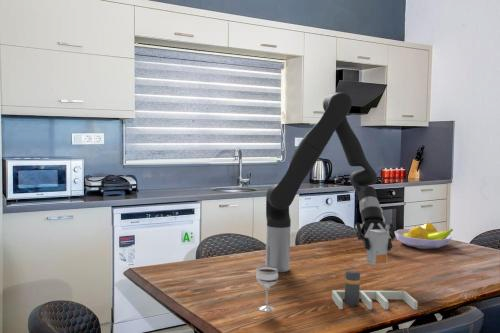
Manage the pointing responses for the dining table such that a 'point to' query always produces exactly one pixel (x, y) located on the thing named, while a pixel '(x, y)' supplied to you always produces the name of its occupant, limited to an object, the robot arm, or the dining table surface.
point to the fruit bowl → (424, 236)
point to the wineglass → (267, 282)
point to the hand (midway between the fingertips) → (379, 249)
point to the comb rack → (378, 295)
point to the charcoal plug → (352, 288)
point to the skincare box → (377, 247)
